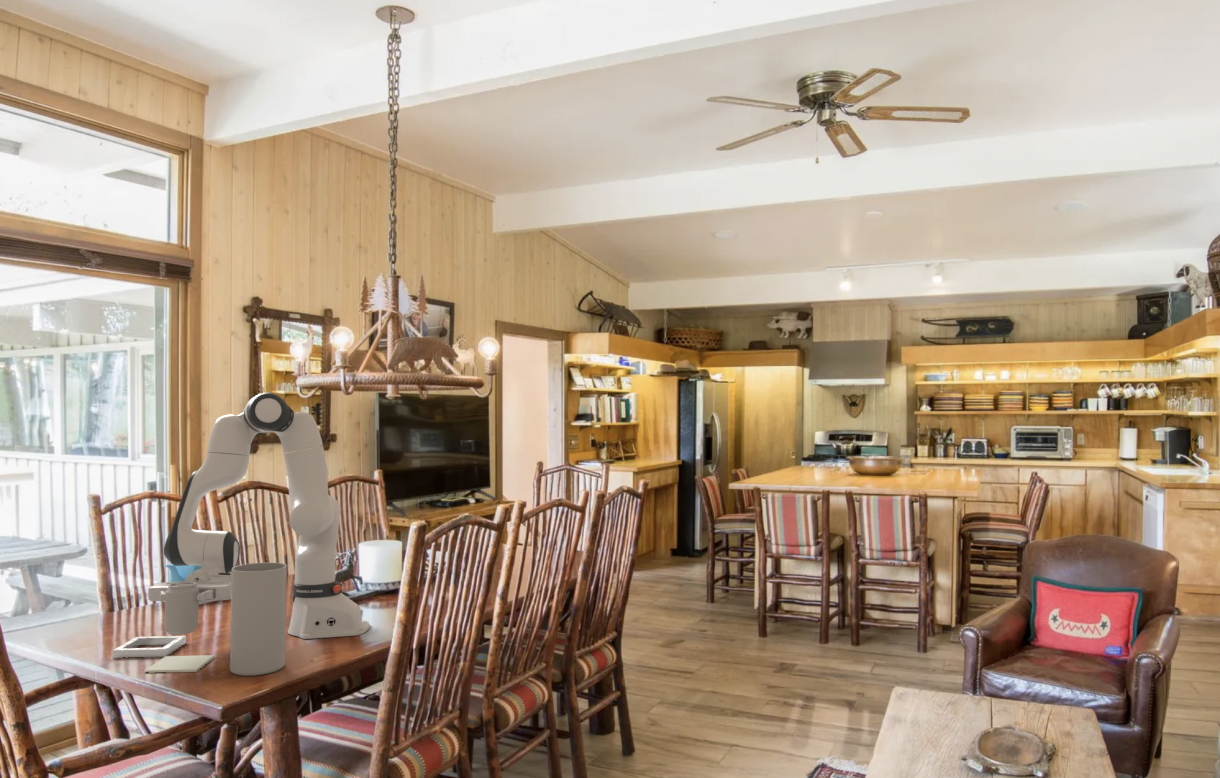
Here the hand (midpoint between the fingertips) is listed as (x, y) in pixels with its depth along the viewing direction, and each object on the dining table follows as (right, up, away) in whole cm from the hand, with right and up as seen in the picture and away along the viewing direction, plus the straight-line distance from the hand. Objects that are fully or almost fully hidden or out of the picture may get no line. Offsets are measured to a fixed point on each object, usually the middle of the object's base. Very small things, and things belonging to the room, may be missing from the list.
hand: (180, 597), depth 208 cm
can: (0, -9, +1) cm, 9 cm away
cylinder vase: (+20, -17, -3) cm, 27 cm away
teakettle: (-34, -19, +76) cm, 85 cm away
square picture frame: (-15, -17, +13) cm, 26 cm away
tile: (0, -17, 0) cm, 17 cm away
